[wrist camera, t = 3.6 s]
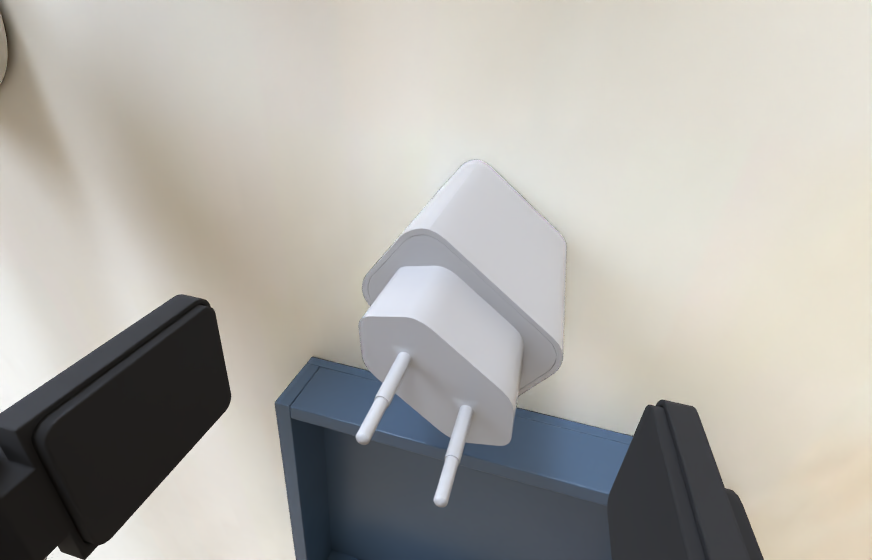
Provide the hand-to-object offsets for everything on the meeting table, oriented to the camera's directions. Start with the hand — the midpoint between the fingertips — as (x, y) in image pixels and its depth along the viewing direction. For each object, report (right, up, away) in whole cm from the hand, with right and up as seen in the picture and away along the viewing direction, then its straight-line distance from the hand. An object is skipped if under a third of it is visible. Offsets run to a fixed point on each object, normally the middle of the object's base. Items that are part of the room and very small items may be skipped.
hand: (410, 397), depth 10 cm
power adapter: (+3, +5, +9) cm, 10 cm away
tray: (+3, -11, +17) cm, 21 cm away
